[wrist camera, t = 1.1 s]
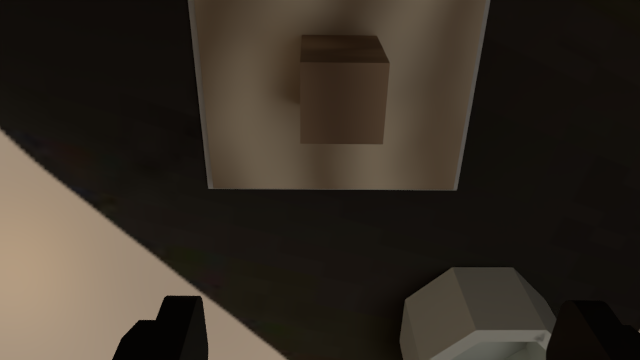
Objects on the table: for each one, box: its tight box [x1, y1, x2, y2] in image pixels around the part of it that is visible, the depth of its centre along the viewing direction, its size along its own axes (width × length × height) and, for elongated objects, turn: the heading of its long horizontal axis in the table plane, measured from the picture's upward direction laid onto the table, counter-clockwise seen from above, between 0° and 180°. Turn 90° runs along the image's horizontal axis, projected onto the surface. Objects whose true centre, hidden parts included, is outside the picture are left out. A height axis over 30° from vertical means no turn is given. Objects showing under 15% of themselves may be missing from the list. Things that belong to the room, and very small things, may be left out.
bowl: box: [400, 267, 557, 360], centre depth 36 cm, size 11×11×6 cm
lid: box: [194, 0, 486, 190], centre depth 26 cm, size 15×15×6 cm
